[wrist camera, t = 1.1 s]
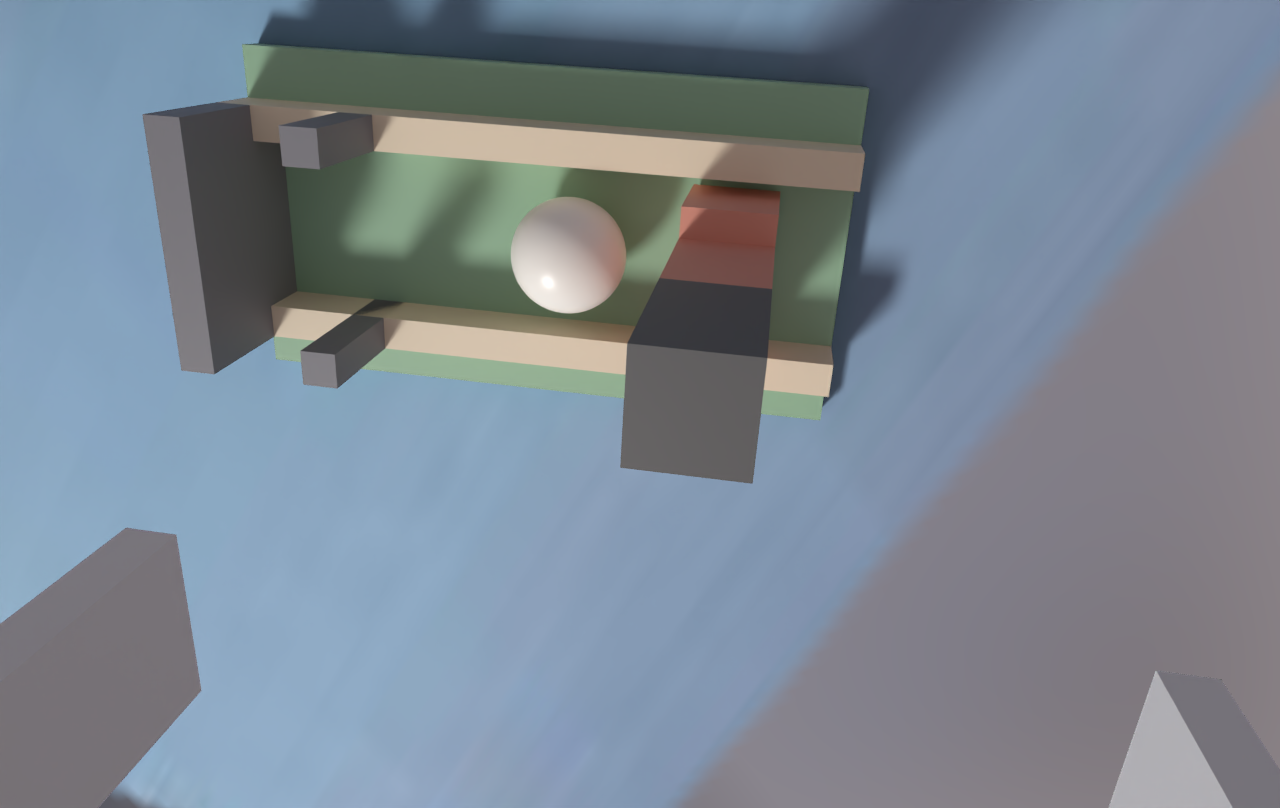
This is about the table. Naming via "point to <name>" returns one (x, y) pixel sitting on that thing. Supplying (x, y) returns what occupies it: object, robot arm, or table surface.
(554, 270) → the ball
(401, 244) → the pitch
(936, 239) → the table surface
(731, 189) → the black and red block
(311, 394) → the table surface
